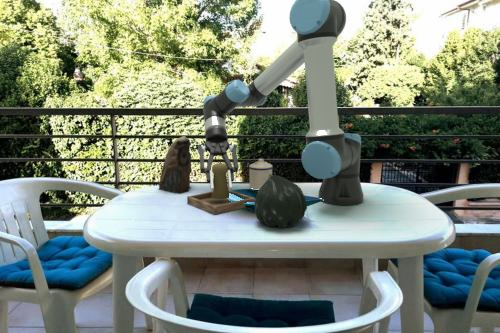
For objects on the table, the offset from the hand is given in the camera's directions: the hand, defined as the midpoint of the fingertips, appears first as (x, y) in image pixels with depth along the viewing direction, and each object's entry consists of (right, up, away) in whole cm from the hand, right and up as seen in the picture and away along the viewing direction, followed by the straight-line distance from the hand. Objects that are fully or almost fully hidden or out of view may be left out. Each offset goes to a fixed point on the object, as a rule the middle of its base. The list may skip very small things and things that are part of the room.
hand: (221, 189), depth 123 cm
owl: (-19, -1, +25) cm, 32 cm away
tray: (-1, -5, +5) cm, 7 cm away
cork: (-1, -3, +4) cm, 5 cm away
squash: (+18, -9, -14) cm, 24 cm away
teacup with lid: (+13, -1, +26) cm, 30 cm away
